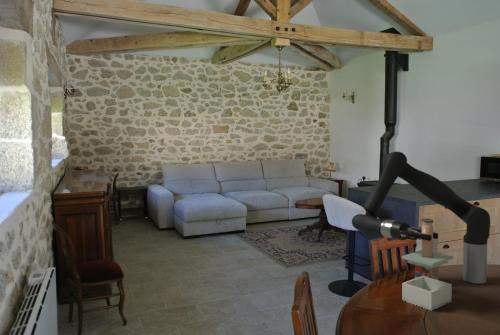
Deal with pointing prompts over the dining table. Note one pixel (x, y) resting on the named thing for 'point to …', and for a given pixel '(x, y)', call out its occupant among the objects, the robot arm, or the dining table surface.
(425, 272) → the fruit juice
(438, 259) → the peg on square base
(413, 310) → the dining table surface
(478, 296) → the dining table surface
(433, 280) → the box
